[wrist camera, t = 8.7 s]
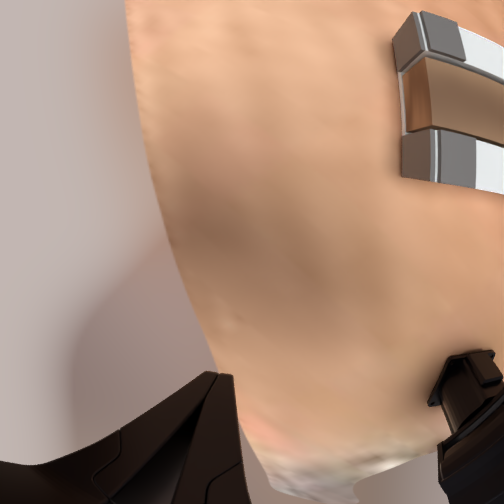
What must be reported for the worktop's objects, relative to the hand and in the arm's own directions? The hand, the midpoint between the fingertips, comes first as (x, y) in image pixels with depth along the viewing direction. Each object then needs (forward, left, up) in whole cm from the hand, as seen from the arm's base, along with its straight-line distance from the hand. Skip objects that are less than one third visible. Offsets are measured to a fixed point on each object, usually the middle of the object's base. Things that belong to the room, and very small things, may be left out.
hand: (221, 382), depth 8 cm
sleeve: (+11, -16, -12) cm, 23 cm away
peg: (+11, -14, -12) cm, 21 cm away
